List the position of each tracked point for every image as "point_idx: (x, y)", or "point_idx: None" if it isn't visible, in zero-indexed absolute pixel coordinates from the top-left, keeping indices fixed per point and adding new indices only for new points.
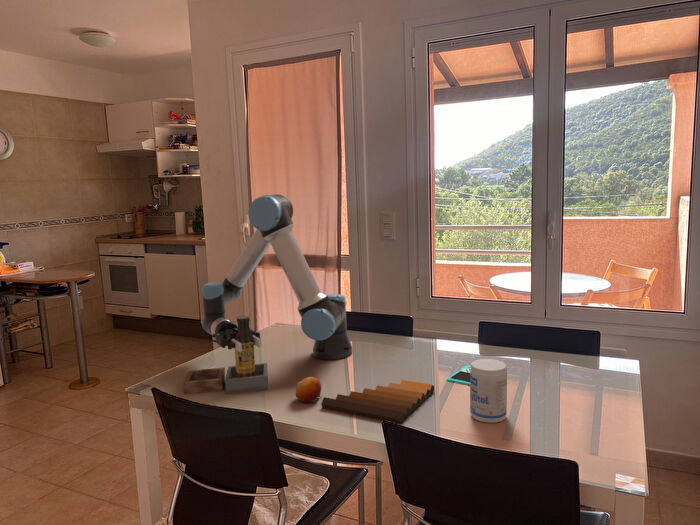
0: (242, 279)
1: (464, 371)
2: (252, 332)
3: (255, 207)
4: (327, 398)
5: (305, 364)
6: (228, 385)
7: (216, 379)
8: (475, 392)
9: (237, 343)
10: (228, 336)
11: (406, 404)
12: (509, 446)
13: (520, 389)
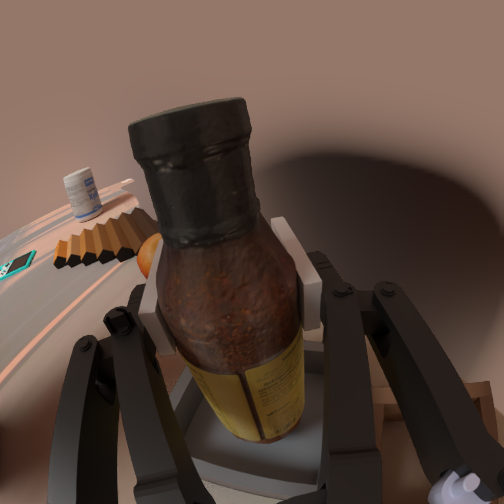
0: None
1: (5, 272)
2: (86, 407)
3: None
4: None
5: (35, 456)
6: None
7: (386, 393)
8: (94, 188)
9: (289, 229)
10: (351, 376)
11: (114, 220)
12: (125, 194)
13: (33, 240)
